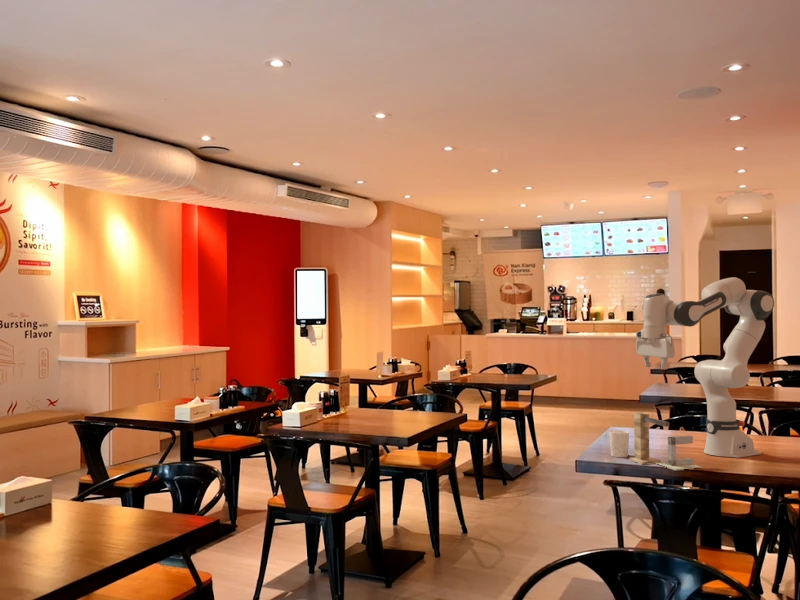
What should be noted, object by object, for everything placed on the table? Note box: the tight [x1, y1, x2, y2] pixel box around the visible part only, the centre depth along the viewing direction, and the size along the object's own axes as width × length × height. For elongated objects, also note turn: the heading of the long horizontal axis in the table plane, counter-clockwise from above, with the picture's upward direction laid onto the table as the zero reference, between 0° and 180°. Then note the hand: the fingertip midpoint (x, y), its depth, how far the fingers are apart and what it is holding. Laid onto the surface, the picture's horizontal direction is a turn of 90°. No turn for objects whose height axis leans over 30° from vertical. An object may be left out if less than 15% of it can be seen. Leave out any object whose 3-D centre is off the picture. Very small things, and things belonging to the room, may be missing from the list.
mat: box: [655, 461, 703, 472], centre depth 277 cm, size 12×12×1 cm
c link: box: [667, 434, 694, 466], centre depth 277 cm, size 10×2×11 cm, turn 107°
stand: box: [628, 412, 670, 465], centre depth 281 cm, size 9×18×19 cm, turn 17°
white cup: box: [608, 429, 630, 458], centre depth 297 cm, size 8×8×10 cm
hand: (655, 368), depth 289 cm, fingers open, 8 cm apart
